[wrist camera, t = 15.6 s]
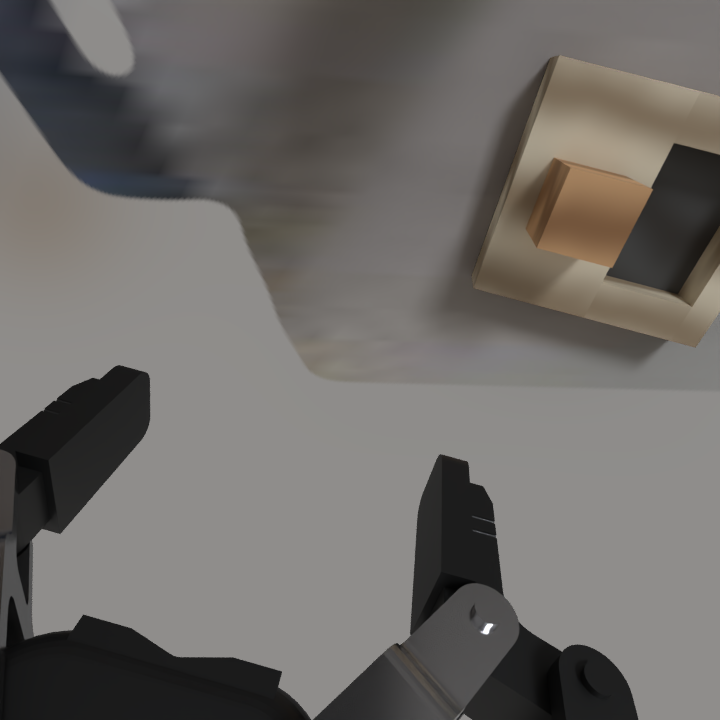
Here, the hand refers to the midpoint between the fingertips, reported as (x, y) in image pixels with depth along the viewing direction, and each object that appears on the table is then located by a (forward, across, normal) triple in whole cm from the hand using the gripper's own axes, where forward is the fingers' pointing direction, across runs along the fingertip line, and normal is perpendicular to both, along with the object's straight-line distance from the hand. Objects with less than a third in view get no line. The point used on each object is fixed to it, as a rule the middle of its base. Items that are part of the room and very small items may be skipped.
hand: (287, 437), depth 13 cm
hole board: (+30, -17, -4) cm, 35 cm away
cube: (+27, -13, -4) cm, 30 cm away
